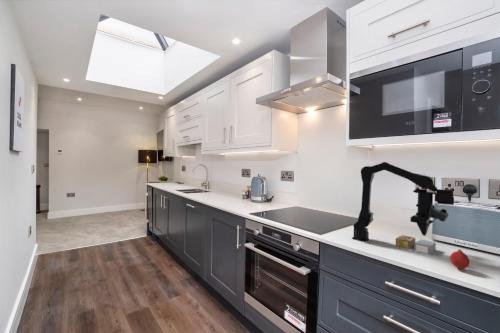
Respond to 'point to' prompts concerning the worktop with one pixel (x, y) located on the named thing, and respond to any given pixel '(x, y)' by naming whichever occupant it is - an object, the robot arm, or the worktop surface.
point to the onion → (459, 260)
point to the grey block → (425, 246)
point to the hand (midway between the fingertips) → (424, 235)
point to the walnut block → (405, 241)
